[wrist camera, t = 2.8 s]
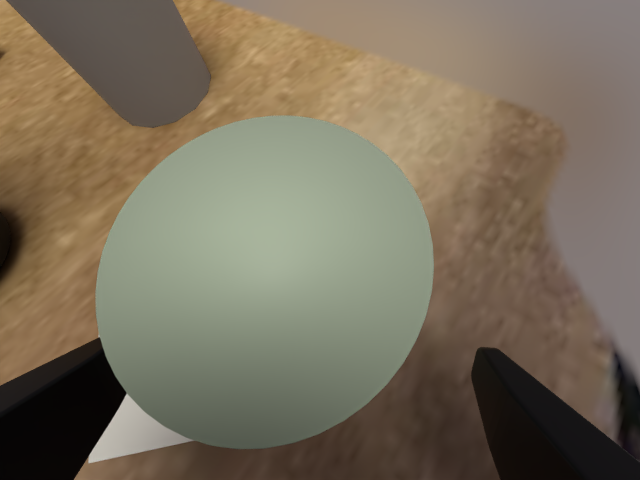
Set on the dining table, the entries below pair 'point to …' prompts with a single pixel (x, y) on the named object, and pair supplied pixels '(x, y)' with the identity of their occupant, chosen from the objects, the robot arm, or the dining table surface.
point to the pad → (133, 434)
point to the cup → (126, 53)
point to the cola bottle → (4, 238)
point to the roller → (264, 282)
